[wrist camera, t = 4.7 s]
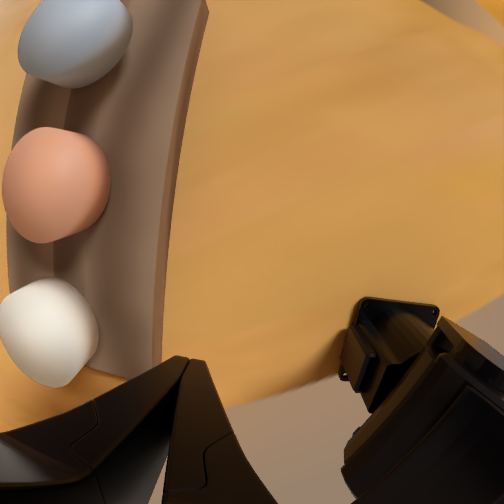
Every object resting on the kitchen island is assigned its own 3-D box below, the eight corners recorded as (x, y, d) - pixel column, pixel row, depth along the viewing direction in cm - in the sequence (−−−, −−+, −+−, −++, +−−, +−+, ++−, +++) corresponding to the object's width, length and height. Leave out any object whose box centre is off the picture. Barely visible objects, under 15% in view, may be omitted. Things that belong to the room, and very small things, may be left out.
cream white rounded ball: (117, 273, 19) (70, 306, 13) (117, 353, 20) (81, 400, 15) (45, 258, 19) (-8, 281, 13) (50, 333, 20) (7, 369, 15)
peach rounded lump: (136, 139, 18) (92, 126, 13) (125, 232, 20) (80, 251, 14) (62, 136, 18) (8, 128, 13) (53, 221, 19) (0, 235, 14)
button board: (209, 12, 16) (203, -6, 14) (161, 365, 22) (151, 384, 19) (62, 24, 16) (46, 13, 14) (33, 328, 22) (16, 340, 19)
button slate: (158, 15, 15) (126, -31, 10) (137, 98, 17) (92, 70, 11) (81, 23, 15) (38, -9, 10) (60, 100, 17) (6, 82, 11)
